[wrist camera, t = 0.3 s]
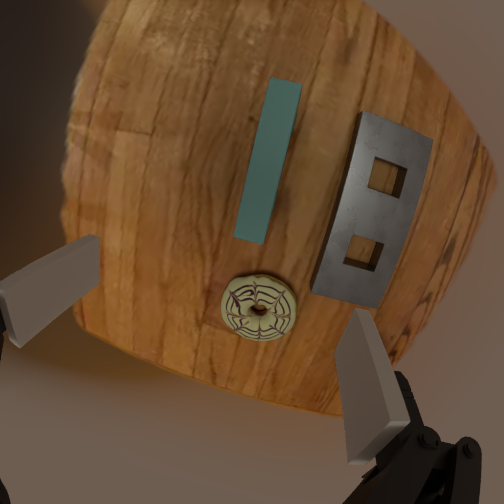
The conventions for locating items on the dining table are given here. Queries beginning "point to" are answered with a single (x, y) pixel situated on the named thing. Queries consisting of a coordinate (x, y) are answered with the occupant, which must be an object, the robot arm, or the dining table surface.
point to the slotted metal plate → (371, 211)
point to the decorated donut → (262, 293)
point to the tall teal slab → (267, 160)
